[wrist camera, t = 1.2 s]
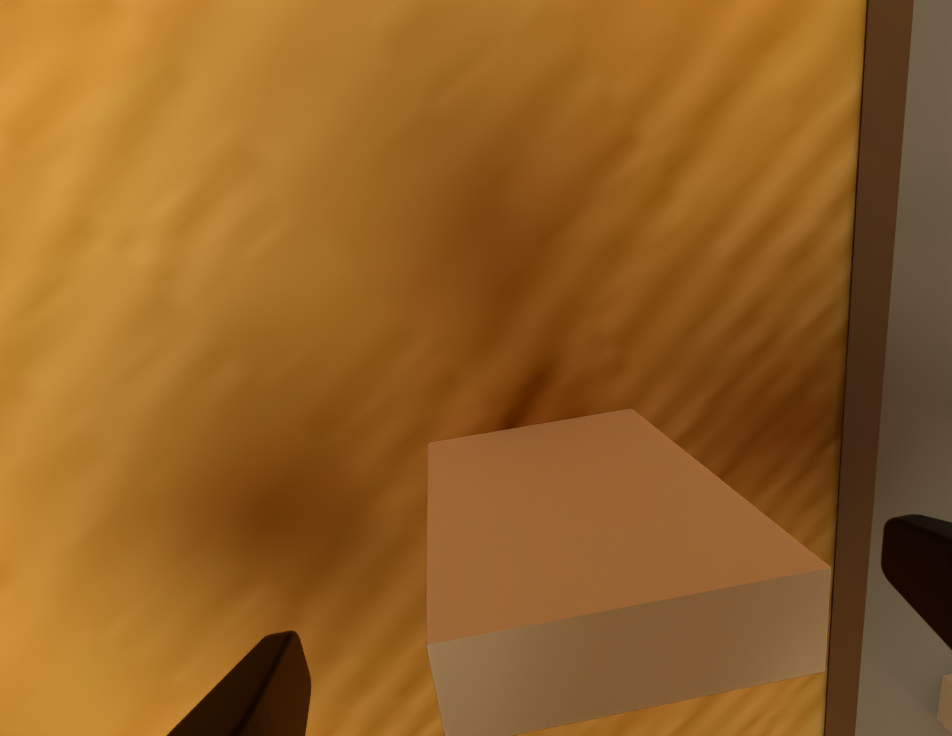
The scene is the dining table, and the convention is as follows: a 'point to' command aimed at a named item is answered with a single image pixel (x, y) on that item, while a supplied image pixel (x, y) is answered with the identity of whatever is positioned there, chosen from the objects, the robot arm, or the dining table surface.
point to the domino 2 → (945, 703)
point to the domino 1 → (603, 578)
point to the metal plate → (895, 374)
